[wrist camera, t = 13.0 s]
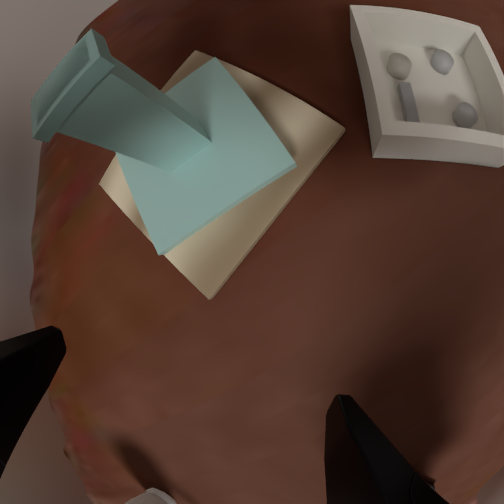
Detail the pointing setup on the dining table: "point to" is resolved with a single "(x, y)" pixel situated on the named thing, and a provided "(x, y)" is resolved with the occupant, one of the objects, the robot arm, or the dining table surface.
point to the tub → (428, 86)
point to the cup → (152, 498)
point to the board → (257, 205)
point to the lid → (164, 136)
